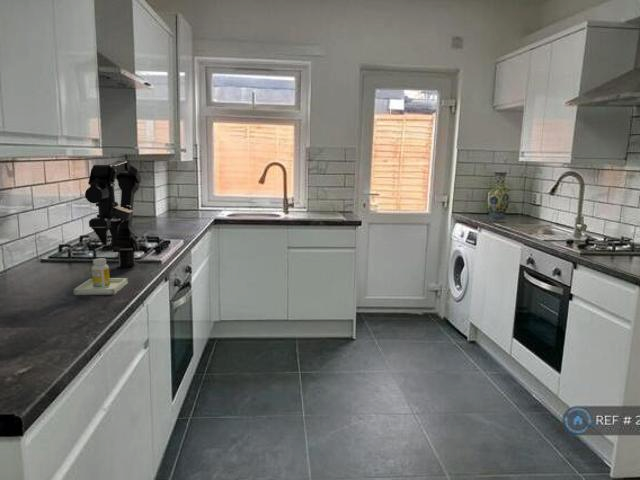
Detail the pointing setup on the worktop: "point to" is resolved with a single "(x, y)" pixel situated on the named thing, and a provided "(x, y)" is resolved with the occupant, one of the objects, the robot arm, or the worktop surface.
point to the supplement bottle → (100, 274)
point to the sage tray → (112, 289)
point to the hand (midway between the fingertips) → (110, 242)
